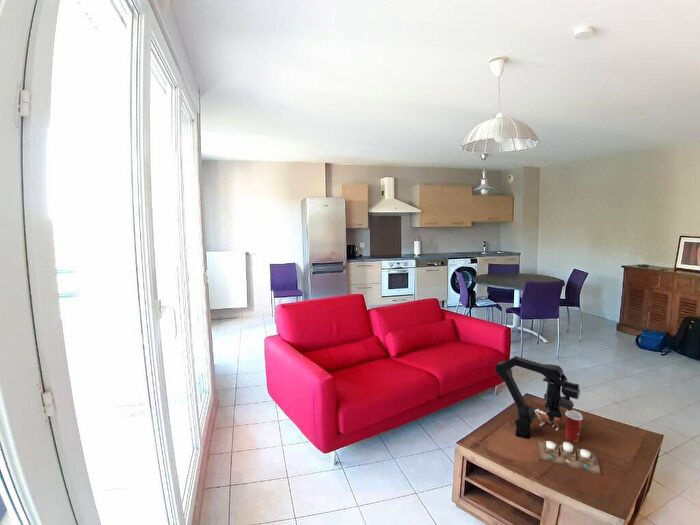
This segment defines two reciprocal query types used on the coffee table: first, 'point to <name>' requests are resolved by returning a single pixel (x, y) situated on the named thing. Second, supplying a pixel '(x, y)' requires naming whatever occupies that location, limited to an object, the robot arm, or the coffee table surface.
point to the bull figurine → (547, 418)
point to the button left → (550, 445)
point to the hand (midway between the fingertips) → (551, 421)
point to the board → (568, 458)
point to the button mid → (568, 447)
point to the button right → (585, 453)
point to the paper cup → (573, 425)
